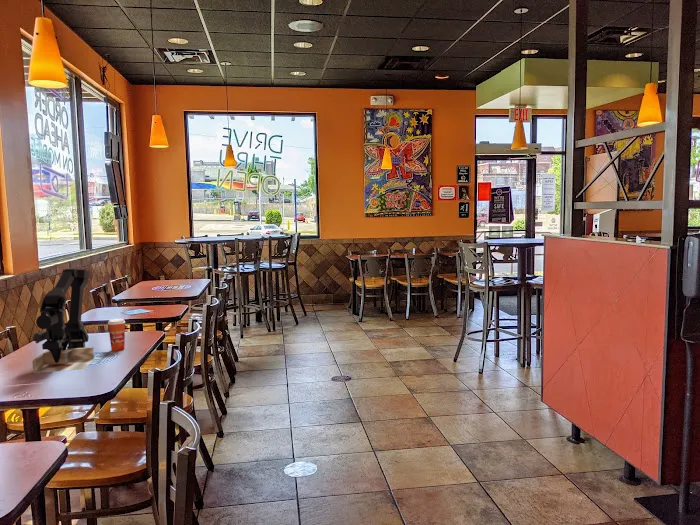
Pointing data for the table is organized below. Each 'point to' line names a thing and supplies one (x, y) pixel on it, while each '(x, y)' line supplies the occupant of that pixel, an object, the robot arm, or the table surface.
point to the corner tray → (80, 362)
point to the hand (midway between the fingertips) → (58, 360)
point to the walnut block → (64, 357)
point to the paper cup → (117, 334)
